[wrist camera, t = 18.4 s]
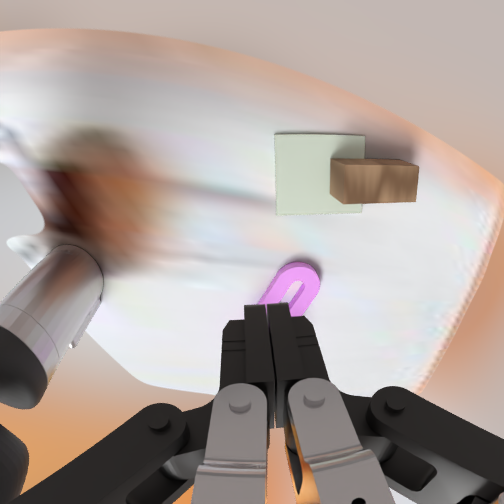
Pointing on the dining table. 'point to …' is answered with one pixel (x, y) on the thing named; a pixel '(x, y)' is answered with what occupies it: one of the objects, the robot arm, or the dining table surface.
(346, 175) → the walnut block
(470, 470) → the robot arm
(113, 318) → the dining table surface
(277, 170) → the mat
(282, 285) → the bracket
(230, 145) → the dining table surface
